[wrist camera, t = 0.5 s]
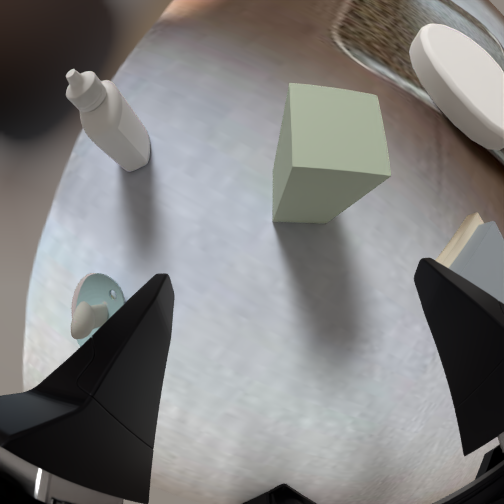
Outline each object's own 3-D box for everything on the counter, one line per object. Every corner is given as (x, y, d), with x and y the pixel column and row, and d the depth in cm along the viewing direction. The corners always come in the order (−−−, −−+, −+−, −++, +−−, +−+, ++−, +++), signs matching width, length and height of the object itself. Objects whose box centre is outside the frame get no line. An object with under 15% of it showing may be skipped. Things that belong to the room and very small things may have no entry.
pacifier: (71, 333, 22) (119, 357, 22) (29, 343, 16) (82, 377, 16) (84, 262, 23) (135, 282, 23) (41, 256, 17) (97, 282, 16)
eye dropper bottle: (162, 122, 24) (114, 37, 12) (145, 175, 23) (76, 106, 11) (124, 121, 24) (67, 48, 12) (107, 171, 23) (30, 113, 11)
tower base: (499, 283, 23) (512, 283, 20) (456, 347, 22) (470, 351, 20) (463, 216, 24) (477, 212, 21) (415, 280, 23) (429, 280, 21)
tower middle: (506, 282, 21) (521, 282, 18) (472, 337, 20) (488, 341, 18) (478, 224, 21) (494, 220, 19) (440, 278, 21) (457, 277, 18)
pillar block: (324, 173, 23) (376, 95, 11) (325, 223, 23) (391, 176, 11) (272, 170, 23) (289, 83, 11) (272, 221, 23) (292, 166, 11)
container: (458, 157, 24) (482, 143, 19) (382, 32, 25) (393, 11, 21) (523, 147, 24) (541, 137, 20) (465, 47, 26) (477, 33, 21)
